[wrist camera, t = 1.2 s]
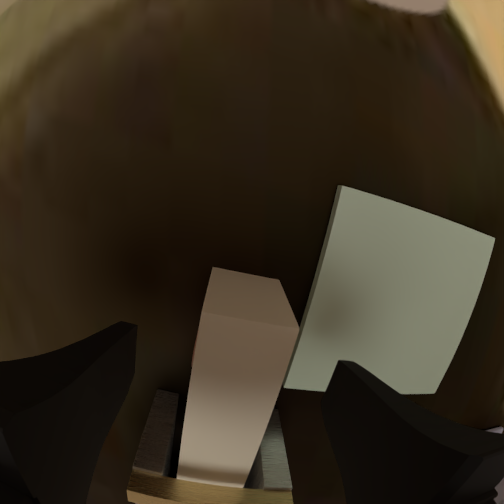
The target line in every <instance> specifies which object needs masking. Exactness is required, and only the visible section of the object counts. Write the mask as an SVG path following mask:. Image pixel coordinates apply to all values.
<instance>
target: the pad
mask: <svg viewBox="0 0 504 504" xmlns="http://www.w3.org/2000/svg"><path fill="white" fill-rule="evenodd" d="M494 241H495V238H493V237H491V236H488V235H486V234H483V233H481V232H478V231H476V230H473V229H471V228H468V227H466V226H463V225H460V224H458V223H455V222H452V221H450V220H447V219H444V218H442V217H439V216H436V215H433V214H430V213H428V212H425V211H422V210H419V209H416V208H413V207H410V206H407V205H404V204H401V203H398V202H395V201H392V200H389V199H386V198H382V197H379V196H376V195H373V194H369V193H366V192H363V191H359V190H356V189H353V188H349V187H346V186H342V185H338V187H337V191H336V195H335V199H334V204H333V208H332V212H331V216H330V220H329V224H328V228H327V232H326V236H325V240H324V243H323V247H322V251H321V255H320V258H319V262H318V266H317V269H316V273H315V277H314V280H313V284H312V287H311V291H310V294H309V298H308V301H307V304H306V308H305V311H304V314H303V318H302V321H301V324H300V330H299V333H298V336H297V339H296V342H295V346H294V349H293V352H292V355H291V358H290V361H289V364H288V367H287V370H286V373H285V376H284V379H283V387H284V388H292V389H302V390H313V391H326V389H327V386H328V384H329V382H330V379H331V377H332V374H333V372H334V369H335V367H336V364H337V362H338V360H346V361H354V362H355V363H357V364H359V365H360V366H362V367H363V368H365V369H366V370H368V371H369V372H371V373H372V374H373V375H375V376H376V377H377V378H379V379H380V380H382V381H383V382H384V383H386V384H387V385H389V386H390V387H391V388H393V389H394V390H396V391H397V392H399V393H400V394H431V393H435V392H436V390H437V388H438V386H439V384H440V382H441V380H442V378H443V376H444V374H445V373H446V371H447V368H448V366H449V364H450V362H451V360H452V358H453V356H454V354H455V352H456V349H457V347H458V345H459V343H460V340H461V338H462V336H463V333H464V331H465V329H466V326H467V324H468V321H469V319H470V316H471V314H472V311H473V308H474V306H475V303H476V300H477V297H478V294H479V292H480V289H481V286H482V283H483V280H484V276H485V273H486V270H487V267H488V263H489V260H490V256H491V253H492V249H493V245H494Z"/></svg>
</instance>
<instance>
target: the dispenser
mask: <svg viewBox="0 0 504 504" xmlns="http://www.w3.org/2000/svg"><path fill="white" fill-rule="evenodd" d="M178 399H179V394H177V393H173V392H168V391H164V390H159V389H157V392H156V395H155V398H154V401H153V404H152V407H151V410H150V413H149V416H148V419H147V422H146V425H145V428H144V432H143V435H142V438H141V441H140V444H139V448H138V451H137V454H136V457H135V461H134V464H133V470H132V474H131V477H130V481H129V484H128V488H127V496H128V501H130V502H134V503H135V504H293V499H292V494H291V489H292V484H291V478H290V473H289V467H288V462H287V456H286V451H285V446H284V440H283V435H282V429H281V424H280V418H279V413H278V409H273V411H272V414H271V417H270V419H269V422H268V425H267V428H266V430H265V433H264V436H263V438H262V441H261V444H260V446H259V449H258V452H257V454H256V457H255V459H254V462H253V464H252V467H251V469H250V472H249V474H248V477H247V479H246V482H245V484H244V487H243V488H237V487H228V486H219V485H211V484H204V483H198V482H192V481H186V480H180V479H175V478H170V468H171V458H172V449H173V440H174V431H175V423H176V415H177V407H178Z"/></svg>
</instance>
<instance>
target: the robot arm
mask: <svg viewBox="0 0 504 504" xmlns="http://www.w3.org/2000/svg"><path fill="white" fill-rule="evenodd" d="M136 339H137V325H135V324H131V323H127V322H123V321H120V322H118V323H116V324H113V325H111V326H109V327H108V328H106V329H104V330H102V331H100V332H98V333H96V334H93V335H91V336H89V337H87V338H85V339H83V340H81V341H78V342H76V343H73V344H71V345H69V346H66V347H64V348H61V349H58V350H55V351H52V352H49V353H45V354H42V355H38V356H34V357H29V358H23V359H17V360H12V361H2V362H0V504H86V499H87V495H88V491H89V487H90V484H91V480H92V476H93V473H94V469H95V466H96V463H97V460H98V457H99V454H100V451H101V448H102V445H103V443H104V441H105V438H106V436H107V434H108V432H109V430H110V428H111V426H112V424H113V422H114V420H115V418H116V416H117V414H118V412H119V410H120V408H121V406H122V404H123V402H124V400H125V398H126V396H127V394H128V391H129V388H130V385H131V382H132V379H133V376H134V373H135V354H136ZM321 407H322V414H323V419H324V424H325V427H326V431H327V434H328V437H329V440H330V442H331V445H332V448H333V451H334V454H335V457H336V460H337V463H338V466H339V469H340V472H341V476H342V480H343V485H344V490H345V495H346V502H347V504H504V434H502V431H503V428H502V427H497V428H493V429H490V430H485V431H484V430H480V429H476V428H472V427H468V426H465V425H462V424H459V423H456V422H454V421H451V420H448V419H446V418H443V417H441V416H439V415H437V414H435V413H433V412H431V411H429V410H427V409H425V408H423V407H421V406H419V405H418V404H416V403H414V402H413V401H411V400H409V399H408V398H406V397H405V396H403V395H402V394H400V393H399V392H397V391H396V390H394V389H393V388H391V387H390V386H389V385H387V384H386V383H384V382H383V381H382V380H380V379H379V378H377V377H376V376H375V375H373V374H372V373H371V372H369V371H368V370H366V369H365V368H363V367H362V366H360V365H359V364H357V363H355V362H354V361H346V360H338V362H337V364H336V367H335V369H334V372H333V374H332V377H331V379H330V382H329V384H328V386H327V389H326V391H325V394H324V396H323V398H322V400H321Z"/></svg>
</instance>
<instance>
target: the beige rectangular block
mask: <svg viewBox="0 0 504 504" xmlns="http://www.w3.org/2000/svg"><path fill="white" fill-rule="evenodd" d="M299 330H300V328H299V326H298V323H297V321H296V319H295V316H294V314H293V311H292V309H291V307H290V304H289V302H288V300H287V297H286V295H285V292H284V290H283V288H282V285H281V283H280V281H279V280H277V279H272V278H267V277H262V276H256V275H251V274H246V273H241V272H236V271H231V270H226V269H221V268H216V267H213V268H212V272H211V276H210V280H209V284H208V288H207V292H206V296H205V300H204V304H203V308H202V313H201V318H200V324H199V328H198V332H197V337H196V341H195V346H194V352H193V358H192V364H191V366H192V372H191V378H190V385H189V391H188V398H187V405H186V412H185V419H184V426H183V433H182V440H181V447H180V455H179V463H178V471H177V479H180V480H186V481H192V482H198V483H204V484H211V485H219V486H228V487H237V488H243V487H244V484H245V482H246V479H247V477H248V474H249V472H250V469H251V467H252V464H253V462H254V459H255V457H256V454H257V452H258V449H259V446H260V444H261V441H262V438H263V436H264V433H265V430H266V428H267V425H268V422H269V419H270V417H271V414H272V411H273V408H274V405H275V403H276V400H277V397H278V394H279V391H280V388H281V385H282V382H283V379H284V376H285V373H286V370H287V367H288V364H289V361H290V358H291V355H292V352H293V349H294V346H295V342H296V339H297V336H298V333H299Z"/></svg>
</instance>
